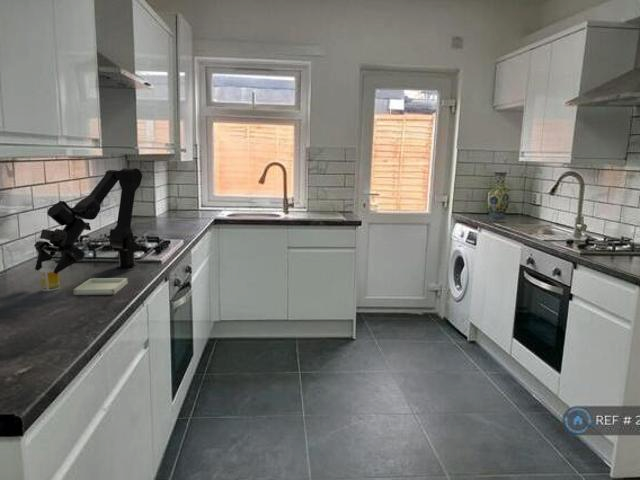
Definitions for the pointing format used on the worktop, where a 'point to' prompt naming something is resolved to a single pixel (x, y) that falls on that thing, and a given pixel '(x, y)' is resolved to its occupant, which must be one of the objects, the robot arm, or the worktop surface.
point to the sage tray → (101, 286)
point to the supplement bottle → (49, 276)
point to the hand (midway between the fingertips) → (45, 271)
